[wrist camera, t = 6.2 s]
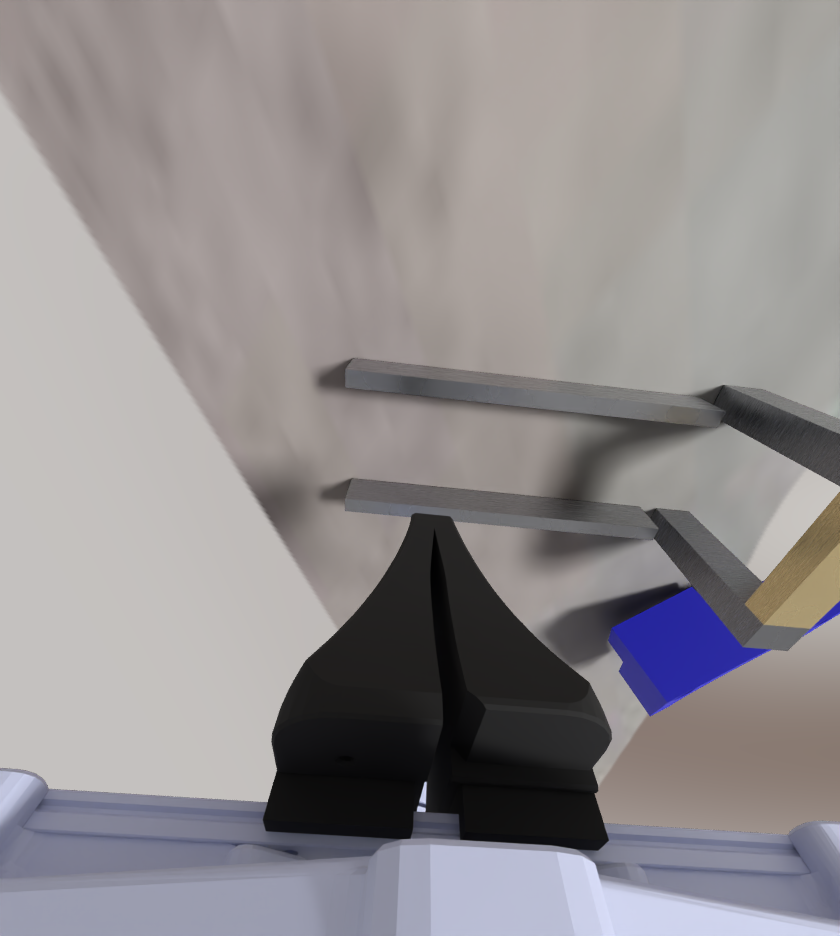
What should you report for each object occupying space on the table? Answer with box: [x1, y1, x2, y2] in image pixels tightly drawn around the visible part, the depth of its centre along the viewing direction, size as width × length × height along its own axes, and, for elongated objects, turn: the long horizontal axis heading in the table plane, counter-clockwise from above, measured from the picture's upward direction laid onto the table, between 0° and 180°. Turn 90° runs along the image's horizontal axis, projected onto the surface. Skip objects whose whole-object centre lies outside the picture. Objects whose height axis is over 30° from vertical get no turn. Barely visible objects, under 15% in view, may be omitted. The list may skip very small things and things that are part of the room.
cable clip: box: [608, 580, 840, 716], centre depth 24 cm, size 12×4×6 cm
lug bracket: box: [651, 385, 840, 651], centre depth 16 cm, size 9×2×8 cm, turn 174°
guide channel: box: [345, 358, 726, 540], centre depth 18 cm, size 8×17×2 cm, turn 84°
